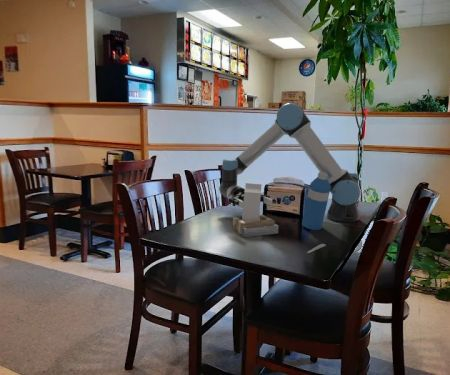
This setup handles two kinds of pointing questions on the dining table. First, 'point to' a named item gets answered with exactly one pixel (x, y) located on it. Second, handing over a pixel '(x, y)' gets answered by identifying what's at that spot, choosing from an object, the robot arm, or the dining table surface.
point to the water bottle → (316, 202)
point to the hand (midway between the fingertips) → (257, 203)
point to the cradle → (251, 223)
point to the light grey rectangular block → (251, 202)
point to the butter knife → (317, 247)
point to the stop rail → (259, 230)
